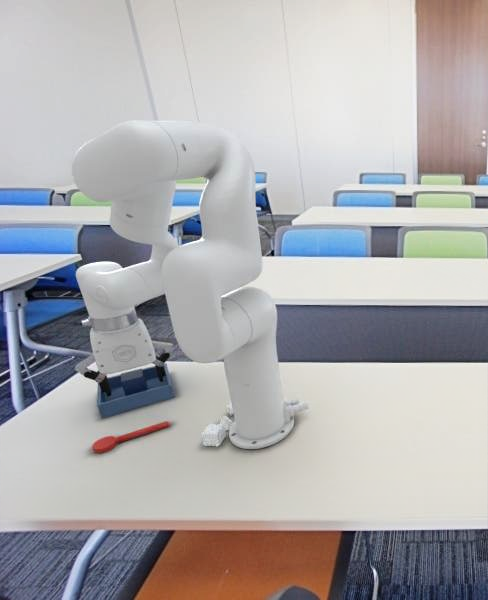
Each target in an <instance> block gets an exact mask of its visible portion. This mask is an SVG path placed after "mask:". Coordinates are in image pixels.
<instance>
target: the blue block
mask: <svg viewBox="0 0 488 600" xmlns="http://www.w3.org/2000/svg"><path fill="white" fill-rule="evenodd" d="M142 369H143V368H139V369H133V370H130V371H125V372H122V373H120V374H121V383H122V386H123V389H124V392H125V395H126V396H128V395H132V394H135V393H139V392H143V391H146V390H148V387H147V383H146V380H145V376H144V373H143V370H142Z"/></svg>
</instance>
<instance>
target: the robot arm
mask: <svg viewBox="0 0 488 600" xmlns="http://www.w3.org/2000/svg"><path fill="white" fill-rule="evenodd" d="M71 176H72V179H73V182H74V184H75V186H76V188H77V189H78V191H79V192H80V193H81V194H82V195H84V196H85V197H86V198H88V199H90V200H91V201H93V202H97V203H111V207H110V215H109V226H110V228H111V229H112V231H113V232H114V233H116V234H117V235H118V236H120V237H121V238H123V239H125V240H128V241H131V242H135V243H139V244H143V245H150V246H151V245H152V248H151V254H150V258H149V260H147V261H143V262H140V263H137V264H132V265H130V266H126V267H123V266H121V264H120V263H118V262H113V261H97V262H91V263H88V264H84V265H81V266H79V267H78V268H77V269H76V271H75V278H76V281H77V284H78V287H79V290H80V293H81V295H82V299H83V302H84V304H85V307H86V311H87V313H88V318H86V319H82V320H81V324H82V326H83V327H90V331H89V340H90V347H91V350H92V354H91V355H90V356H88V357H86V358H85V359H83V360H82V361H80V362H78V363H77V364H75V365H74V371H76V372H77V373H79V374H80V375H82V376H83V377H84V378H86V379H89V380H93V381H95V383H97V384H98V383H99V386H100V388H101V391H102V393H104V392H106V394H107V397H109V396H111V395H112V394H111V387H110V384H109V381H108V376H107V375H111V374H116V373H120V372H126V371H129V370H134V369H136V368H140V367H144V366H148V365H150V364H152V365H154V366H156V371H157V374H158V378H159V381H160V382H163V376H166V374H165V371H164V367H163V365H164V363H167V361H168V359H170V357H171V353H172V352H173V349H174V345H173V343H172V342H164V341H158V340H157V341H156V340H152V337H151V336H150V333H149V331H148V328H147V327H146V325H145V323H144V321H143V320H142V319H141V318H139V317H138V315H137V312H136V308H135V306H138V305H140V304H143V303H145V302H147V301H150V300H152V299H155V298H159V297H160V296H164V295H165V299H166V304H167V309H168V313H169V317H170V322H171V326H172V329H173V330H172V331H173V334H174V337H175V339H176V342H177V344H178V346H179V348H180V350H181V351H182V352H183V354H184V355H185V356H186V357H187V358H188V359H190V360H191V361H193V362H196V363H199V364H211V363H215V362H218V361H220V360H222V359H223V368H224V373H225V378H226V384H227V387H228V392H229V397H230V401H231V403H232V408H233V413H234V414H233V417H234V421H232V422H233V423H232V424H231V426H230V428H229V430H228V437H229V441H230V443H232V445H234V446H235V447H237V448H240V449H243V450H257V449H259V450H260V449H263V448H267V447H270V446H273V445H275V444H277V443H278V442H280V441H282V440H283V439H285V438H286V437H287V436H288V435H289V434H290V433H291V432H292V430H293V429H294V425H295V417H294V416H295V414H297V413H302V412H303V411H306V410H308V409H309V404H308V402H307V400H303V401H301V402H299V399H298V398H297V397H295V398H293V399H290V400H288V401H287V400H284V394H283V386H282V379H281V372H280V366H279V357H278V351H277V350H278V348H277V327H278V309H277V305H276V303H275V301H274V299H273V298H272V296H271V295H270V293H268V292H267V291H265V290H264V289H262V288H259V287H256V286H246V285H248V284H250V283H253V282H254V281H255V280H257V279H258V278H259V277H260V275H261V274H262V272H263V254H262V245H261V238H260V228H259V219H258V215H257V204H256V203H257V202H256V185H257V183H256V169H255V164H254V160H253V158H252V155H251V153H250V151H249V149H248V148H247V146H246V145H245V144H244V142H243V141H242V139H240V138H239V137H238V136H237V135H236V134H235V133H234V132H232V131H230V130H228V129H227V128H225V127H223V126H220V125H217V124H213V123H207V122H201V121H190V120H189V121H188V120H187V121H186V120H185V121H184V120H153V119H137V120H127V121H124V122H120V123H119V124H116V125H114V126H113V127H111V128H110V129H107V130H106V131H104V132H102V133H100V134H99V135H97V136H96V137H94V138H92V139H90V140H88V141H87V142H85V143H84V144H83V145H82V146H80V147H79V149H78V150H77V151H76V153H75V154H74V156H73V158H72V162H71ZM197 178H199V179H200V178H203V179H205V180H206V184H205V186H204V188H203V190H202V192H201V196H200V199H199V205H198V214H199V218H200V226H201V237H200V239H198V240H194V241H191V242H187V243H184V244H181V245H179V242H178V240H177V239H176V238H175V237H174V235H172V234H171V232H170V231H169V225H170V220H171V215H172V209H173V203H174V198H175V193H176V187H177V182H178V181H182V180H191V179H197ZM244 286H245V287H244ZM155 349H160V350H163V352H162V353H161V354H160V355H157V354H156V351H155ZM94 363H95V365H96V367H97V371H95V370H92V369H91V368H90V369H89V368H88V367H89V366H91V365H93V364H94Z"/></svg>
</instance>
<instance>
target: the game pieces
mask: <svg viewBox="0 0 488 600" xmlns="http://www.w3.org/2000/svg"><path fill="white" fill-rule="evenodd" d="M224 407H225V410H226V413H228V414H229V416H230V417H232V416H233V415H234V413H233V408H232V403H231V400H228V403H227V404H226V405H224ZM233 422H234V421H232V420H231V419H230V418H229V417H228V416H227V415H223V416H222V417H221V419H220V422H219V423H217V424H216V423H209V424H207V426H206V427H205V429H203V431H202V432H201V434H200V437H201V439H202V445H203V446H205V447H208V446H209V447H211V446H212V447H220V446H221V444H222V443H223V441H224V440H225V439H226V437H227V433H226V431H229V428H230V426H231V424H232V423H233Z"/></svg>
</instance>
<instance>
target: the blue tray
mask: <svg viewBox="0 0 488 600" xmlns="http://www.w3.org/2000/svg"><path fill="white" fill-rule="evenodd" d="M163 367H164V371H165V374H166V376H163V382H160V381H159V378H158V374H157V371H156V366H155V365H153V366H149V367H145V368H141V369H142V370H143V373H144V376H145V380H146V383H147V387H148V390H146V391H143V392H139V393H135V394H132V395H128V396H126V395H125V392H124V389H123V386H122V383H121V373H120V374H118V375H113V376H109V377H108V376H107V378H108V381H109V384H110V387H111V394H112V395H111V396H109V397H107V394H106V392H104V393H102V391H101V388H100V386H99V383H98V382H97V394H96V395H97V396H96V399H97V400H96V406H97V408H98V409H97V410H98V412H99V415H100V417H101V419H105V418H109V417H112V416H116V415H119V414H122V413H125V412H129V411H133V410H136V409H140V408H142V407H146V406H149V405H152V404H156V403H159V402H163V401H166V400H170V399H173V398H176V396H175V391H174V388H173V383H172V379H171V375H170V371H169V368H168V364H167V362H165V363H164V365H163Z"/></svg>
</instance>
